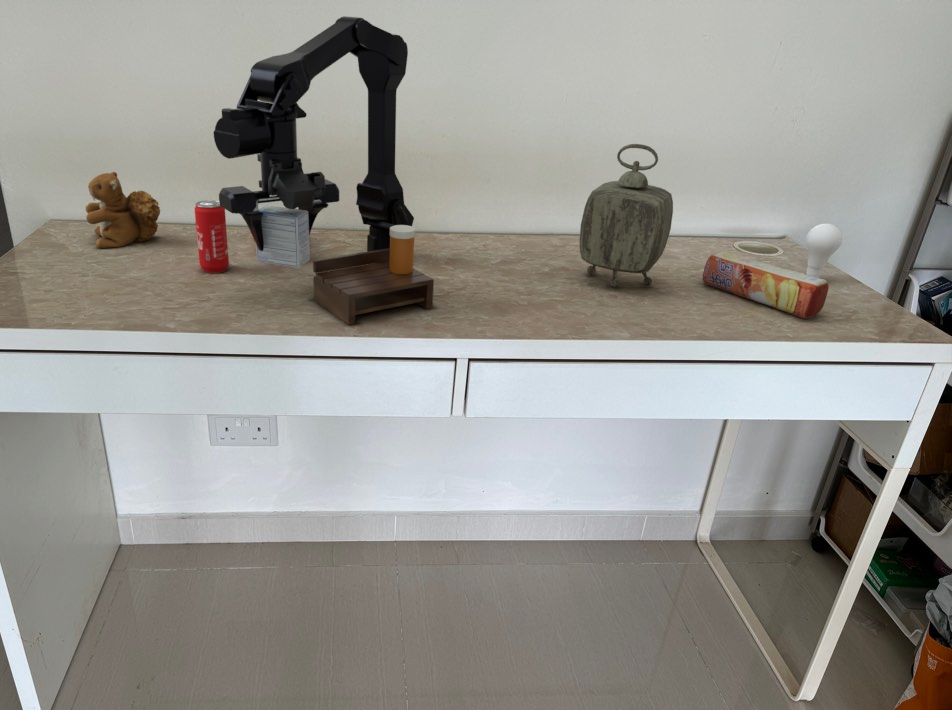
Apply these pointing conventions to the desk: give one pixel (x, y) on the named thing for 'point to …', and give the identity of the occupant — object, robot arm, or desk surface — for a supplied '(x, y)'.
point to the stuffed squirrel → (120, 213)
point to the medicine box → (284, 236)
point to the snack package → (766, 284)
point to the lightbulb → (821, 247)
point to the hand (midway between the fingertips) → (282, 247)
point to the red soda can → (211, 236)
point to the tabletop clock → (626, 223)
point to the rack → (367, 285)
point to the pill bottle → (401, 249)
